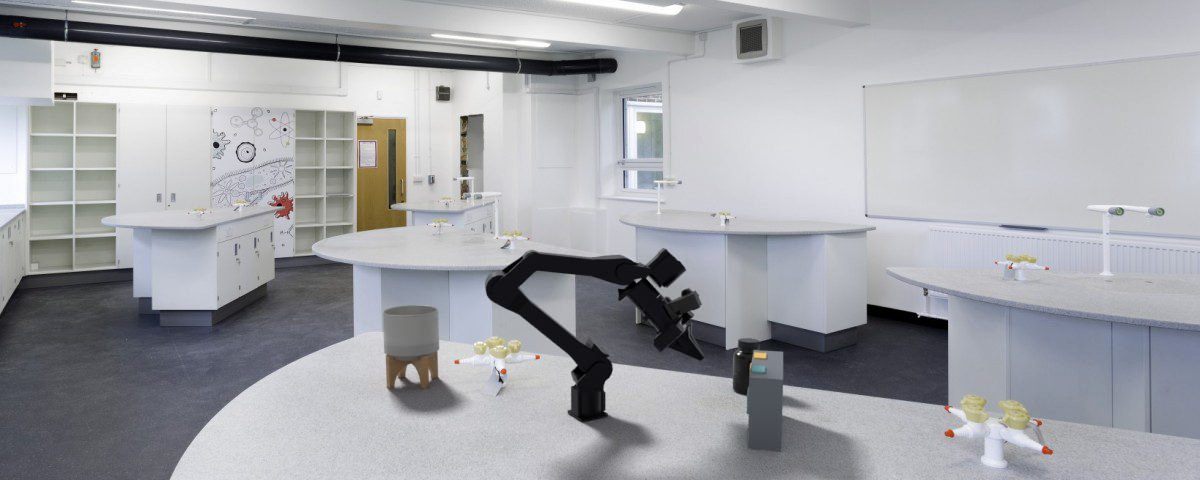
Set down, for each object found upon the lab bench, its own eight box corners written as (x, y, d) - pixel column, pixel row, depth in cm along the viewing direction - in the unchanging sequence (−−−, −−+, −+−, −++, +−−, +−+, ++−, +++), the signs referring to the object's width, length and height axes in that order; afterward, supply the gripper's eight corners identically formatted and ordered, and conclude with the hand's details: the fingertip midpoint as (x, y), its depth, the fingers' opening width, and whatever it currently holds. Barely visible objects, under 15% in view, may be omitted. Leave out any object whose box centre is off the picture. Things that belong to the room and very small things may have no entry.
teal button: (746, 413, 133) (747, 393, 133) (747, 407, 137) (748, 386, 137) (766, 415, 132) (766, 394, 132) (766, 408, 136) (767, 388, 136)
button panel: (747, 448, 131) (749, 375, 130) (752, 412, 150) (753, 348, 149) (781, 451, 129) (783, 378, 128) (781, 414, 149) (783, 350, 147)
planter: (423, 371, 181) (421, 302, 180) (450, 382, 172) (448, 310, 170) (375, 381, 173) (373, 310, 171) (401, 394, 163) (398, 318, 161)
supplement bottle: (762, 396, 161) (763, 344, 160) (732, 394, 162) (733, 343, 161) (762, 387, 168) (763, 337, 166) (732, 385, 169) (733, 336, 168)
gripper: (671, 284, 137) (727, 344, 135) (685, 271, 155) (734, 324, 153) (630, 322, 140) (685, 381, 138) (649, 304, 158) (697, 357, 156)
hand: (702, 359), depth 146 cm, fingers closed
